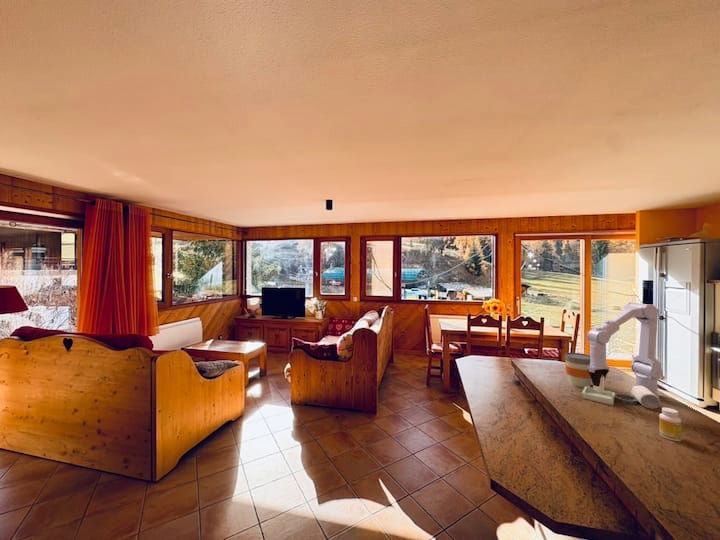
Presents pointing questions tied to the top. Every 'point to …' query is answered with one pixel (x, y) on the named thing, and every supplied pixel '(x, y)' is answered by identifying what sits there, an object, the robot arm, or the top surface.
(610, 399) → the tray
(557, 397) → the top surface
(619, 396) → the collar
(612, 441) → the top surface
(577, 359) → the reusable coffee cup
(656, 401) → the can
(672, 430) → the supplement bottle
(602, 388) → the peg
